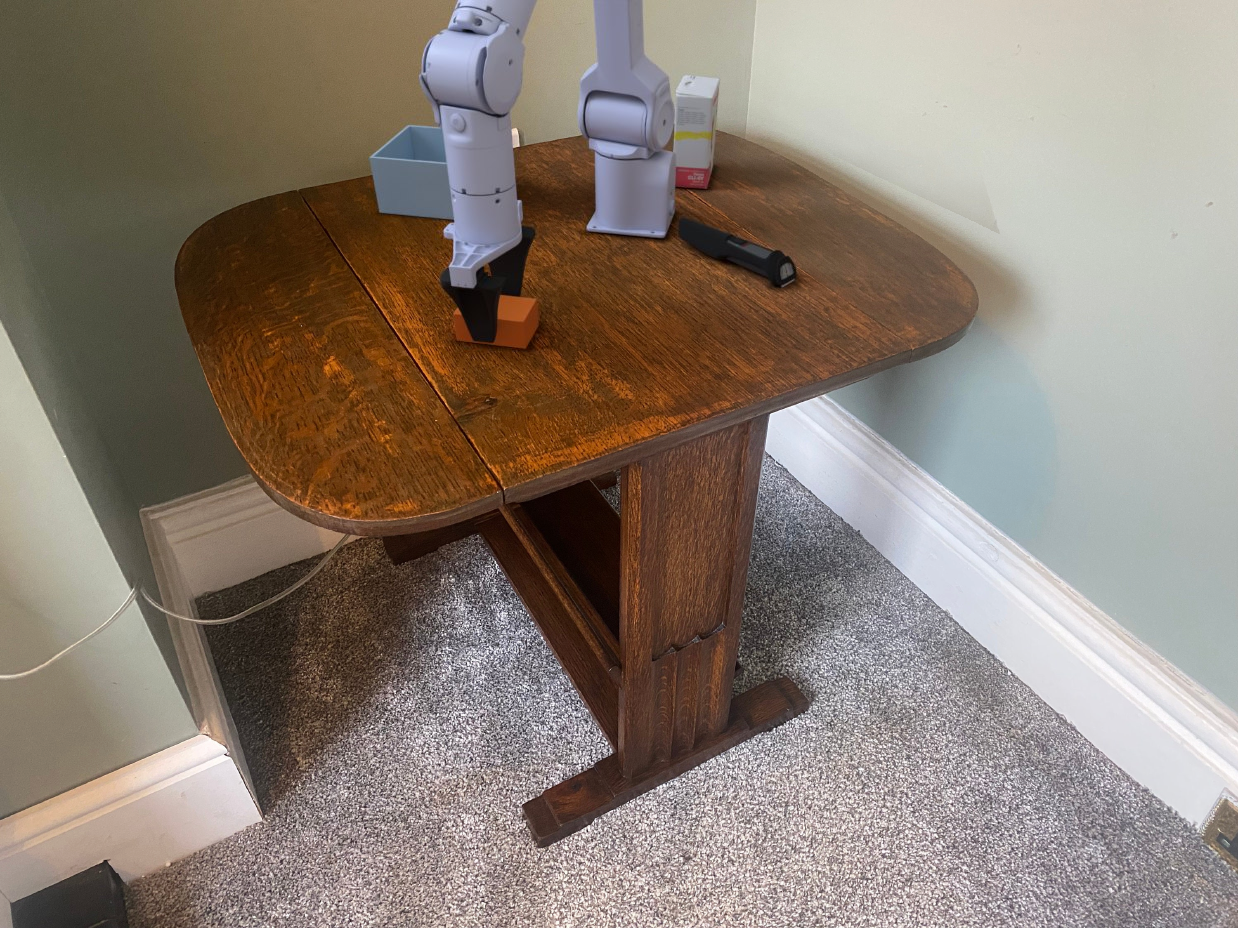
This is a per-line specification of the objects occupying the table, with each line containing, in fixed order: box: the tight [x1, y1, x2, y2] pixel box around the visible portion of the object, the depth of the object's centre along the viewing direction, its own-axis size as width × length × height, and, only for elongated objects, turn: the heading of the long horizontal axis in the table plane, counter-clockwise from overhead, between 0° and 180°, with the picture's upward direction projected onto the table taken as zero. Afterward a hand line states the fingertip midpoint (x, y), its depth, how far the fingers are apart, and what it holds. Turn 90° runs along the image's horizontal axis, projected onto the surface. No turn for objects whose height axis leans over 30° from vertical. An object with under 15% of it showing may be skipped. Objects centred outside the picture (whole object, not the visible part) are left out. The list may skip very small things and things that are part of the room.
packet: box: [452, 295, 540, 350], centre depth 83 cm, size 7×4×3 cm, turn 78°
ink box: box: [672, 74, 721, 190], centre depth 111 cm, size 9×5×12 cm, turn 169°
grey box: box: [368, 124, 454, 221], centre depth 107 cm, size 13×12×7 cm
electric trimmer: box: [677, 216, 798, 288], centre depth 95 cm, size 4×16×3 cm, turn 45°
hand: (496, 320), depth 83 cm, fingers open, 7 cm apart
